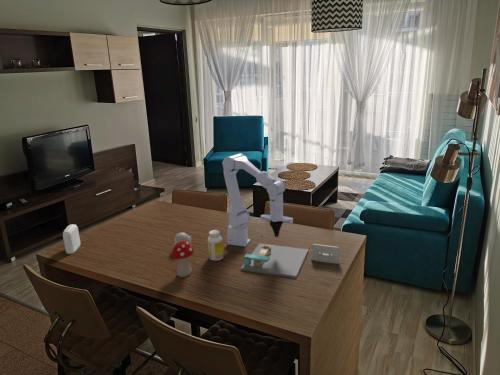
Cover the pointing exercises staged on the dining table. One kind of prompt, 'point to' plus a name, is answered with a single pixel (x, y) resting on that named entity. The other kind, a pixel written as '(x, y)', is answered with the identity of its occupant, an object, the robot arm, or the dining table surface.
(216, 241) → the supplement bottle
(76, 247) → the photo printer
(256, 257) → the plate
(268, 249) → the beech link
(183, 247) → the decorative mushroom
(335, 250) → the cassette
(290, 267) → the light grey baseplate
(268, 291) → the dining table surface
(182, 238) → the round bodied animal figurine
